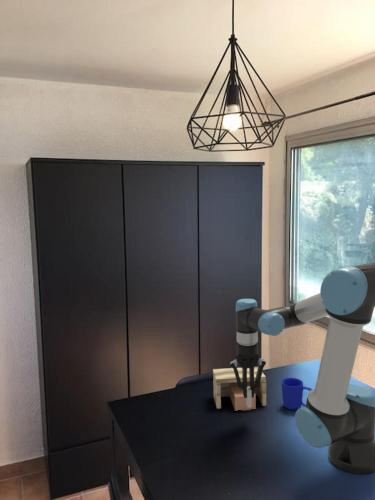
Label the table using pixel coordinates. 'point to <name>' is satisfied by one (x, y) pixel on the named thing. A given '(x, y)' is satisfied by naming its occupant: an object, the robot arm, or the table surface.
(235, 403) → the tan brown block
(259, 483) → the table surface
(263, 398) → the shelf nook
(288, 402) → the mug
